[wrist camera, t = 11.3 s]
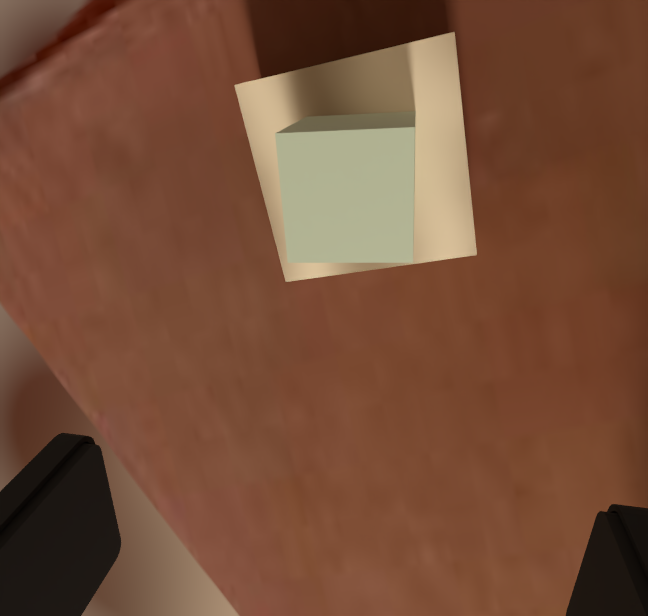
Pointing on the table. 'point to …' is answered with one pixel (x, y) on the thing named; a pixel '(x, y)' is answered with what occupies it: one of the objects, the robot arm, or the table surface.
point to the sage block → (348, 188)
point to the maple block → (376, 97)
